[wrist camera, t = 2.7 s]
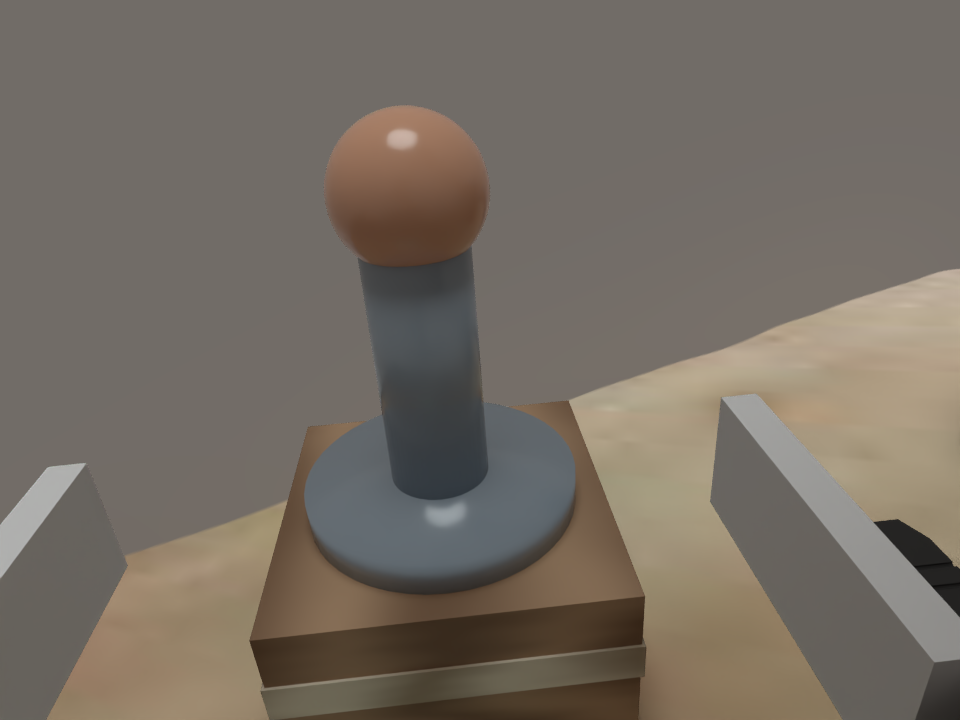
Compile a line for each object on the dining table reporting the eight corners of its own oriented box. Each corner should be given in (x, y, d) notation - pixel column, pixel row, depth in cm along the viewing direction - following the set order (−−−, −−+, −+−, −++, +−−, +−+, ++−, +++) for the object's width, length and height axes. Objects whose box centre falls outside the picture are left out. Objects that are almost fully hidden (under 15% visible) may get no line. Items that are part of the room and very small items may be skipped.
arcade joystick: (550, 414, 31) (541, 78, 24) (604, 576, 22) (612, 113, 15) (327, 436, 30) (259, 101, 24) (288, 611, 21) (164, 150, 15)
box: (571, 517, 35) (570, 399, 32) (640, 744, 24) (649, 598, 21) (331, 543, 34) (306, 425, 31) (290, 787, 23) (245, 643, 20)
